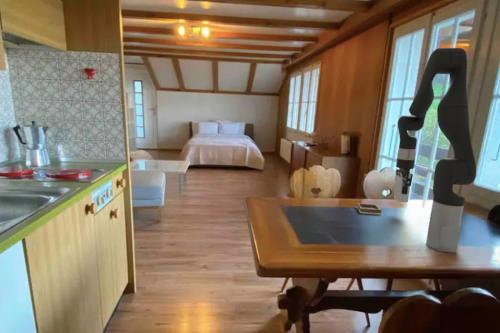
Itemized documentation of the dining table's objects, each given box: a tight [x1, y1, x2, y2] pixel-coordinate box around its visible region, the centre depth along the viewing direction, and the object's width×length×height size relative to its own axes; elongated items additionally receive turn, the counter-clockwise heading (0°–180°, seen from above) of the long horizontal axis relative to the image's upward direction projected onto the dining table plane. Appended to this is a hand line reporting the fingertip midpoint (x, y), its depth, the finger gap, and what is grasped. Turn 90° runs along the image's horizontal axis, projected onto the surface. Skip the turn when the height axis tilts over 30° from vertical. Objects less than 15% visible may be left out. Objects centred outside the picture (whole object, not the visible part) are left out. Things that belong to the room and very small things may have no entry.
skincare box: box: [393, 174, 411, 203], centre depth 135 cm, size 6×4×12 cm
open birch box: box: [356, 202, 382, 216], centre depth 141 cm, size 9×10×2 cm
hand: (401, 192), depth 135 cm, fingers closed on skincare box, 6 cm apart
